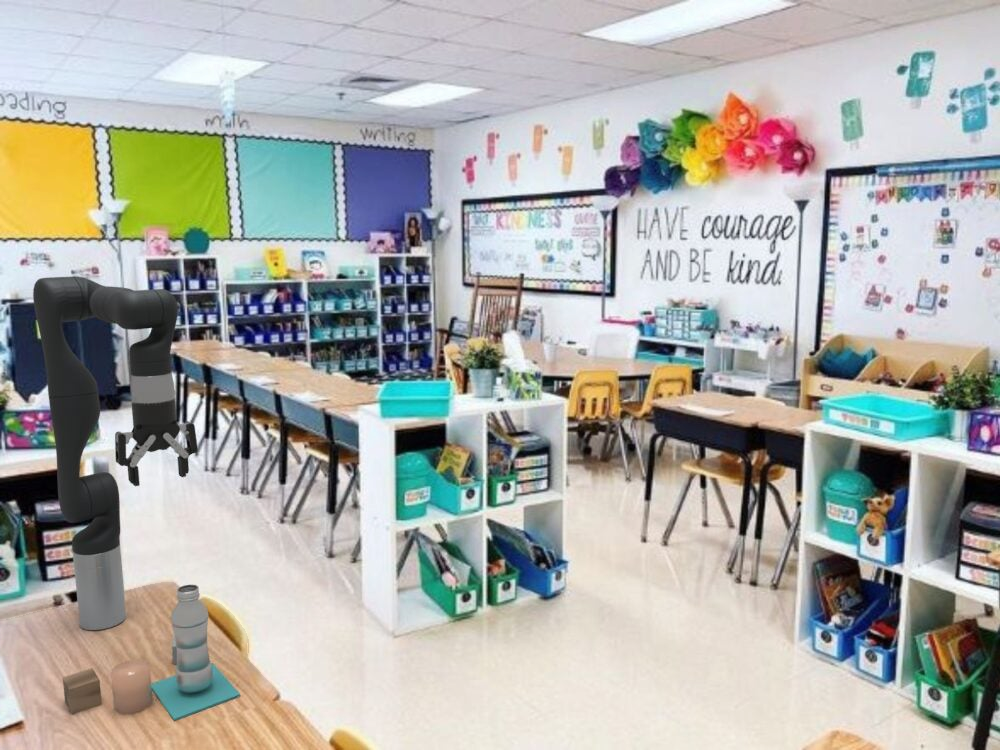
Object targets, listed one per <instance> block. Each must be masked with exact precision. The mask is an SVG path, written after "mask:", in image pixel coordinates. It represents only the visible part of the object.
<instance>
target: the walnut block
mask: <svg viewBox="0 0 1000 750" xmlns="http://www.w3.org/2000/svg"><path fill="white" fill-rule="evenodd" d="M100 681H101V680H100V678H99V676H98V675H97V673H96V671H95V670H94V668H93V667H92V668H91V667H90V668H88V669H85V670H81V671H79V672H75V673H72V674H69V675H66V676H63V677H62V686H63V696H64V703H65V705H66V706H67V708H68V710H69V712H70V715H71V716H72V715H75V714H77V713H80V712H83V711H86V710H89V709H92V708H96V707H99V706H100V705H102V704H103V701H102V691H101V682H100Z"/></svg>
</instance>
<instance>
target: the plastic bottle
mask: <svg viewBox="0 0 1000 750" xmlns="http://www.w3.org/2000/svg"><path fill="white" fill-rule="evenodd" d="M199 589H200V588H199V586H198V585H197V584H194V583H193V584H191V583H190V584H184V585H182V586H180V587H178V588H177V590H176V592H177V593H176V594H177V595H176V600H177V601H178V602H177V603H176V605H175V607H174V608H173V610H172V612H171V613H170V614H171V615H170V623H171V627H172V630H173V636H174V635H175V641H176V648H177V664H176V669H175V675H176V677H175V679H176V683H177V686H178V688H179V689H180V690H181V691H182V692H184V693H197V692H201V691H203V690H205V689H207V688H208V687H209V686H210V684H211V683H212V680H213V669H212V665H211V663H212V662H211V658H210V654H209V648H208V626H209V625H208V624H209V612H208V609H207V606H206V605H205V604H204V603H203V601H201V600H200V599H199V598H200V597H201V595H200V590H199Z"/></svg>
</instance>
